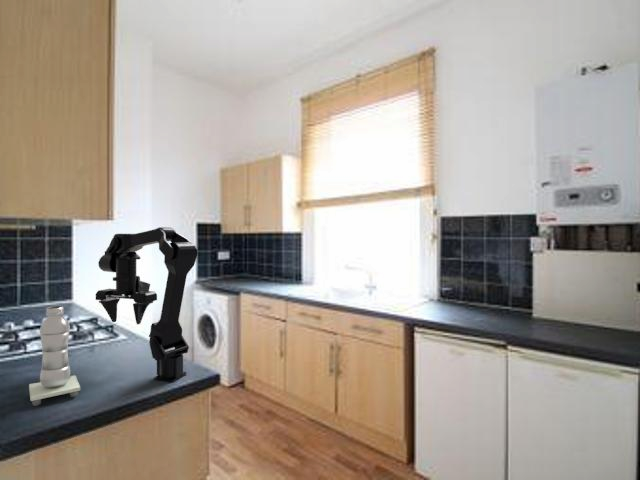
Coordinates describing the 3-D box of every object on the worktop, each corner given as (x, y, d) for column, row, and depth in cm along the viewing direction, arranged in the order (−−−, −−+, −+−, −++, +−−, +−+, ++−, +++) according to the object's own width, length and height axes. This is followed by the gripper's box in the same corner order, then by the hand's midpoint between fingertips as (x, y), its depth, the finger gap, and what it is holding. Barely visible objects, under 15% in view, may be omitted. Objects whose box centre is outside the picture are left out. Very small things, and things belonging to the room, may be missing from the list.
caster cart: (75, 384, 103) (75, 375, 103) (80, 397, 96) (80, 387, 96) (29, 393, 97) (29, 384, 97) (30, 408, 89) (30, 397, 89)
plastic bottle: (72, 378, 101) (71, 303, 101) (69, 388, 95) (68, 308, 95) (42, 383, 98) (41, 305, 97) (37, 392, 92) (36, 310, 92)
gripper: (168, 272, 124) (168, 319, 124) (121, 270, 129) (121, 315, 129) (144, 275, 113) (144, 327, 114) (94, 273, 118) (94, 323, 119)
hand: (126, 323), depth 119 cm, fingers open, 9 cm apart
